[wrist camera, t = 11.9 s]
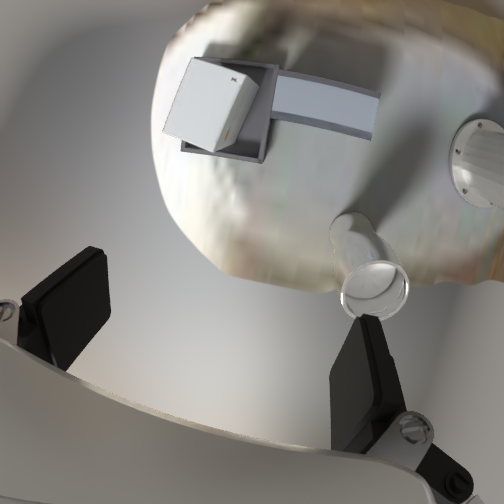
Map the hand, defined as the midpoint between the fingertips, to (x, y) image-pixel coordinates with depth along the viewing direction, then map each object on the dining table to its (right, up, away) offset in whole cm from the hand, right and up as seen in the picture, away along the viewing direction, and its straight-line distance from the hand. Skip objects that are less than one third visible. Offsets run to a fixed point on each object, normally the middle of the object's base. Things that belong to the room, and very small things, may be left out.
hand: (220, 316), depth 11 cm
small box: (-2, +20, +24) cm, 31 cm away
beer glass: (+14, +5, +29) cm, 32 cm away
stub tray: (-1, +20, +24) cm, 31 cm away
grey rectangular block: (+9, +20, +23) cm, 31 cm away
